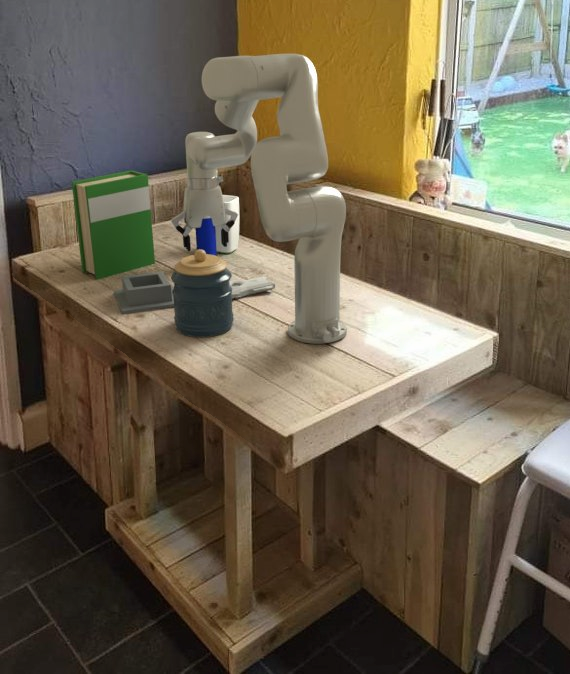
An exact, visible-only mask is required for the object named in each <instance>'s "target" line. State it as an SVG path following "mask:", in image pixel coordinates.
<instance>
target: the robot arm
mask: <svg viewBox="0 0 570 674" xmlns="http://www.w3.org/2000/svg"><path fill="white" fill-rule="evenodd" d="M316 70H317V69H316V67H315V66H314V64H313V62H312V61H311V60H310V59H309V58H308V57H307V56H305V55H303V54H298V53H276V54H274V53H273V54H265V55H263V54H262V55H255V56H253V55H234V56H233V55H232V56H222V57H221V56H220V57H214V58H212V59H210V60H208V61H207V62H206V64H205V65H204V67H203V69H202V74H201V86H202V90H203V92H204V94H205V95H206V97H208V98H209V99H211V100H213V101H216V102H215V104H214V114H215V115H216V117H217V119H218V120H219V122H221V123H222V124H223V125H225V126H226V127H228V128H230V129H233V130H236V132H235V133H232V134H224V135H217V136H216V135H215V134H214V133H212V132H208V131H195V132H191V133H188V134H187V135H186V137H185V154H186V155H185V156H186V157H185V159H186V173H187V174H186V175H187V187H185V188H184V194H183V211H182V212H180V213H178V214H177V215H176V216H174V217H173V218H171V219H170V222H171V223H172V225H173V227H174V228H175V229H176V231H178V233H180V234H181V235H182V243H183V247H184V248H185V249H186V250H187V252H190V251H191V250H192V247H191V236H190V233H191V231H192V230H193V229H195V228H200V227H201V223H202V218H203V217H204V216H210V217H211V218H212V222H213V226H221V227H222V229H221V243H222V245H223V246H224V247H227V243H228V242H229V236H228V232H229V231H230V228H231V227H232V226H233V225H234V224H235V221H236V218H237V216H238V214H237V213H236V212H234V211H231V210H229V209H227V208H224V202H223V196H222V195H223V192H222V189H221V186H220V183H221V182H224V177H223V175H221V176H220V175H218V169H221V168H222V169H223V168H229V167H235V166H241V165H243V164H245V163H246V162H248V160H249V159H250V171H251V176H252V177H251V178H252V181H253V187H254V190H255V196H256V201H257V205H258V210H259V213H260V219H261V223H262V226H263V229H264V231H265V234H266V235H267V236H268V238H269V239H270V240H272V241H275V242H277V243H280V242H281V243H282V242H289V241H294V240H298V243H297V245H296V247H295V251H294V258H293V259H294V263H293V264H294V267H293V268H294V321H292V322H291V323H290V324H288V325H287V334H288V336H289V337H291V339H294V340H295V341H297V342H299V343H300V342H301V343H303V344H304V343H306V344H314V345H318V344H319V345H320V344H329V343H333V342H337V341H339V340H341V339H343V338H344V337H346V334H347V329H348V328H347V325H346V324H345V323H344V322H342V321H341V320H340V309H341V308H340V305H341V302H340V300H341V299H340V298H341V295H340V292H341V250H342V247H341V246H342V238H343V231H344V226H345V222H346V216H347V205H346V201H345V200H346V199H345V197H344V196H343V193H341V192H340V191H339V190H338V189H337V188H334V187H332V186H328V185H327V186H326V185H320V186H318V185H317V186H311V187H305V188H300V189H295V190H289V191H288V185H293V184H298V183H303V182H304V183H305V182H309V181H314V180H318V179H320V178H322V177H324V176H325V174H326V173H327V172H328V169H329V157H328V150H327V145H326V139H325V134H324V130H323V124H322V120H321V115H320V111H319V97H318V95H319V94H318V93H319V81H318V75H317V71H316ZM276 98H277V99H279V98H281V99H280V101H279V103H278V104H279V105H278V107H277V111H276V121H277V125H278V130H279V135H278V136H271V137H270V136H269V137H266V138H263V139H261V140H259V141H258V129H257V125H256V122H255V119H254V117H253V113H254V112H255V110H256V108H257V105H258V103H259V101H260V100H261V101H262V100H269V99H276ZM225 214H227V215H230V216H231V217H230V220H229V221H228V222H227V223H226V224H225ZM182 220H183V221H184V224H185V225H184V226H183V227H182V226H181V225H180V223H179V222H181V221H182Z"/></svg>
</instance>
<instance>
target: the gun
mask: <svg viewBox="0 0 570 674" xmlns="http://www.w3.org/2000/svg"><path fill="white" fill-rule="evenodd" d="M229 282H230V286H231V287H232V300H235V299H239V297H240V298H243V297H246V296H250V295H255V294H259V293H263V292H267V291H272V290H274V289H276V283H274V282H272V281H269V280H268V277H267V276H264V275H263V276H259V277H255V278H250V279H245V280H244V279H235V280H234V279H233V280H231V279H230V280H229ZM234 298H235V299H234Z"/></svg>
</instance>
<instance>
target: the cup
mask: <svg viewBox="0 0 570 674" xmlns="http://www.w3.org/2000/svg"><path fill="white" fill-rule="evenodd" d="M222 196H223V202H224V208H227V209H229V210H231V211H234V212H236V213H237V214H238V216H237V218H236V221H235V224H234V225H233V226H232V227H231V228H230V231H229V232H228V236H229V242H228V243H227V247H224V246H223V245H222V243H221V229H222V227H221V226H215V229H216V248H217V253H219V252H220V253H221V254H231V253H232V252H235V251H236V250H237V249H238V247H239V237H240V198H239V196H236V195H228V194H222ZM230 217H231V216H230V215H227V214H225V224H226V223H227V222H228V221H229V220H230ZM220 253H219V254H220Z"/></svg>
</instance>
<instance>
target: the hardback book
mask: <svg viewBox="0 0 570 674" xmlns="http://www.w3.org/2000/svg"><path fill="white" fill-rule="evenodd" d="M71 188H72V189H71V190H72V199H73V205H74V215H75V221H76V222H75V224H76V229H77V237H78V238H77V239H78V246H79V255H80V262H81V263H80V264H81V271H82V274H89V273H91V274H92V275H94V278H95V280H97V281H99V280H101V279H105V278H109V277H113V276H116V275H120V274H123V273H128V272H130V271H134V270H138V269H141V267H142V268H145V267H149V266H151V265H152V264H153V265H155V264H156V257H155V246H154V237H153V236H154V234H153V222H152V221H153V220H152V211H151V210H152V209H151V197H150V185H149V175H148V174H147V173H143V172H139V171H136V170H133V169H132V170H131V169H130V170H126V171H120V172H115V173H111V174H104V175H101V176H94V177H90V178H84V179H79V180H74V181H71Z"/></svg>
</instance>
